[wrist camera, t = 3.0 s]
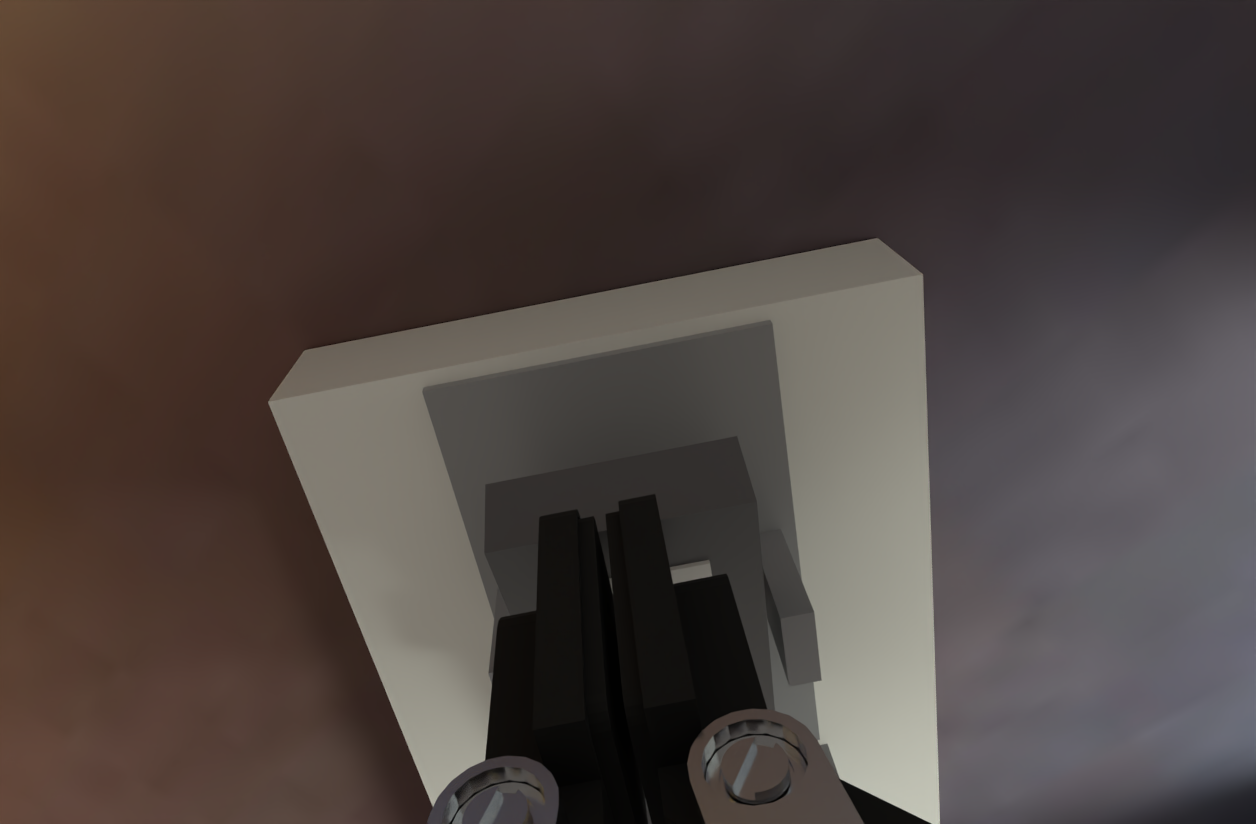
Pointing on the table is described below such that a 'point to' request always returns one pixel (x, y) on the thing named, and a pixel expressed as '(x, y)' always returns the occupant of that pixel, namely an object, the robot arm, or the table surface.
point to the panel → (633, 425)
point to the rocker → (690, 517)
